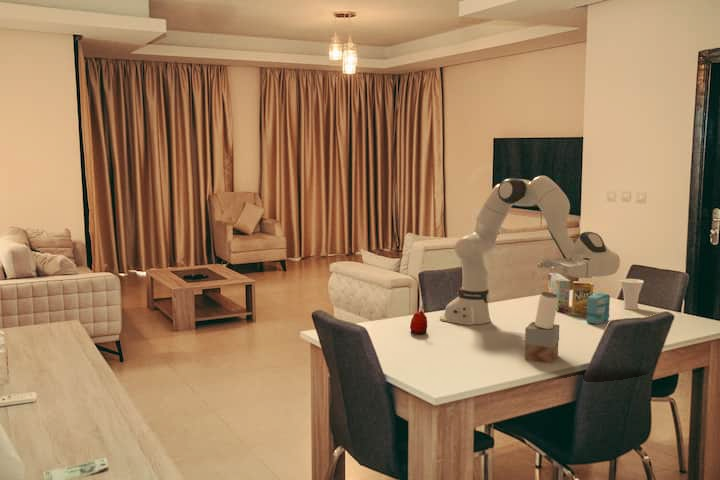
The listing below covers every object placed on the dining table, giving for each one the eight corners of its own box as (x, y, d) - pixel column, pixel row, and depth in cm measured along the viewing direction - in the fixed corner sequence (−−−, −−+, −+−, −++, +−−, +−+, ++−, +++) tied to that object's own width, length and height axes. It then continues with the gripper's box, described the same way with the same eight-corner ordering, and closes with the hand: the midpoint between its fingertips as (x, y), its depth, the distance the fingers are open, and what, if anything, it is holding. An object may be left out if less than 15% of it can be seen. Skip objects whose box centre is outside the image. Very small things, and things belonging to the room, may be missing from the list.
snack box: (569, 312, 327) (570, 280, 325) (557, 312, 328) (558, 280, 326) (557, 302, 348) (558, 272, 346) (546, 302, 349) (547, 272, 347)
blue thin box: (595, 325, 304) (596, 298, 302) (586, 323, 307) (587, 296, 305) (609, 320, 312) (610, 293, 310) (599, 318, 315) (600, 292, 314)
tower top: (525, 344, 254) (525, 328, 253) (531, 337, 263) (532, 321, 262) (553, 347, 250) (553, 331, 249) (558, 340, 259) (559, 324, 258)
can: (553, 330, 251) (559, 298, 248) (535, 327, 252) (540, 296, 249) (552, 324, 257) (557, 293, 254) (534, 321, 258) (539, 290, 255)
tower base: (524, 360, 255) (525, 344, 254) (530, 352, 264) (531, 337, 263) (552, 363, 251) (553, 347, 250) (557, 356, 260) (558, 340, 259)
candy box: (571, 315, 321) (572, 282, 319) (572, 313, 325) (573, 280, 323) (591, 317, 318) (593, 283, 316) (592, 314, 322) (593, 282, 320)
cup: (622, 305, 341) (623, 277, 340) (644, 307, 335) (646, 280, 334) (616, 309, 333) (617, 281, 331) (639, 312, 327) (640, 283, 325)
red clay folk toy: (416, 330, 297) (416, 295, 295) (431, 332, 293) (431, 297, 291) (407, 333, 291) (407, 298, 289) (421, 336, 287) (421, 300, 285)
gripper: (563, 253, 266) (530, 254, 262) (594, 261, 246) (559, 263, 243) (562, 269, 267) (530, 271, 263) (594, 279, 247) (559, 281, 244)
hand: (544, 267), depth 253 cm, fingers open, 8 cm apart
